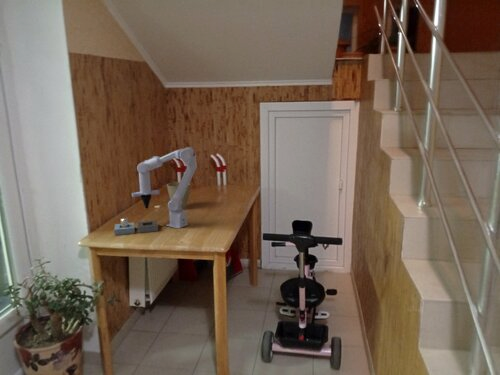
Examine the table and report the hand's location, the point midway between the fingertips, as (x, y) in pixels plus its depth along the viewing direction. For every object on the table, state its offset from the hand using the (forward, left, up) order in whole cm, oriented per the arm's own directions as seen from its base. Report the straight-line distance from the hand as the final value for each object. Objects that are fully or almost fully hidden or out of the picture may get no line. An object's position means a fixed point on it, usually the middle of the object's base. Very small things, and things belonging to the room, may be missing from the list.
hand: (146, 208), depth 218 cm
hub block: (+2, +14, -10) cm, 17 cm away
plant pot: (+9, -36, -10) cm, 38 cm away
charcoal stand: (-5, +5, -10) cm, 12 cm away
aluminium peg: (+2, +14, -10) cm, 17 cm away
